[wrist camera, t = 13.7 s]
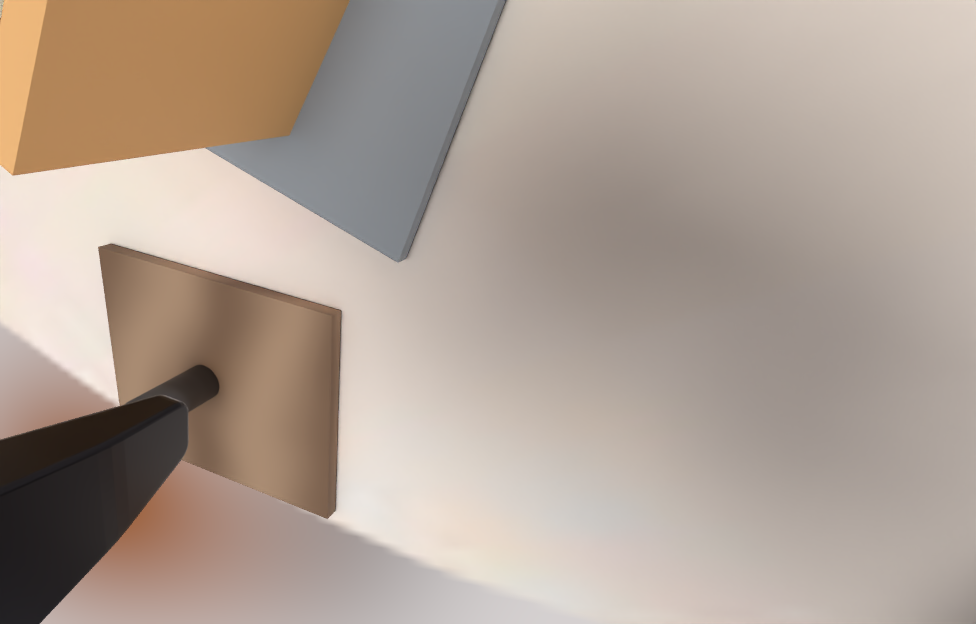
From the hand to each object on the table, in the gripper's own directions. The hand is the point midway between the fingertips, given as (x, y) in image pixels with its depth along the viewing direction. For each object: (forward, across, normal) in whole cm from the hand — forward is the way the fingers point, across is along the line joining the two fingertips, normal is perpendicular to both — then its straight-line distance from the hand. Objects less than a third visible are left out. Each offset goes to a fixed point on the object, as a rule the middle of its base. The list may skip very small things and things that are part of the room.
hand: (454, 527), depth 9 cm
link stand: (+14, +13, +11) cm, 22 cm away
